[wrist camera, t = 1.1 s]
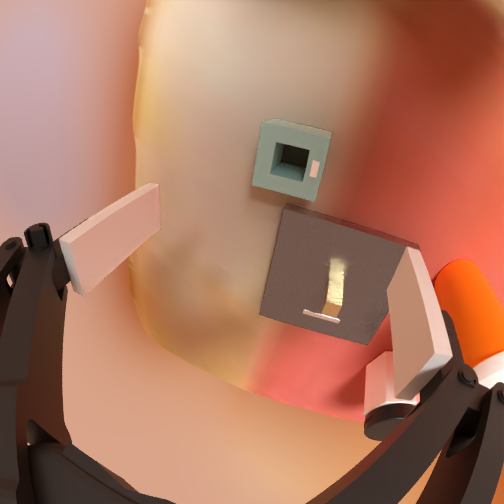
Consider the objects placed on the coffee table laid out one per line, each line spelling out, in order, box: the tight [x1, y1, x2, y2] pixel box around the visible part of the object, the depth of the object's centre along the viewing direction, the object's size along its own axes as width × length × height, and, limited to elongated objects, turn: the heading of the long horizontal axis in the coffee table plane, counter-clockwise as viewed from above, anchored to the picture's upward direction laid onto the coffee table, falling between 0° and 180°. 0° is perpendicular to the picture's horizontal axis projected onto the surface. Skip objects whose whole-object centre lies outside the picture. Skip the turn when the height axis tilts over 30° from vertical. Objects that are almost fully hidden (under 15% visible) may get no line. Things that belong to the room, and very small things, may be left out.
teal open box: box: [252, 119, 332, 202], centre depth 26 cm, size 6×6×5 cm
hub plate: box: [259, 204, 421, 345], centre depth 32 cm, size 16×16×6 cm
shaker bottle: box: [434, 259, 504, 389], centre depth 21 cm, size 9×9×20 cm
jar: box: [363, 351, 419, 441], centre depth 34 cm, size 9×8×12 cm
